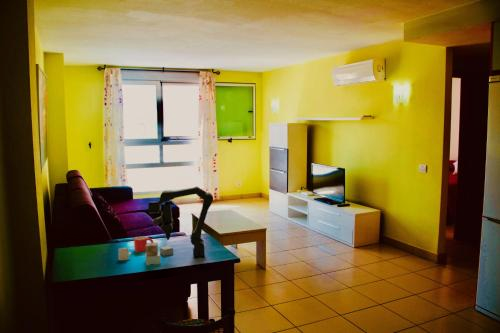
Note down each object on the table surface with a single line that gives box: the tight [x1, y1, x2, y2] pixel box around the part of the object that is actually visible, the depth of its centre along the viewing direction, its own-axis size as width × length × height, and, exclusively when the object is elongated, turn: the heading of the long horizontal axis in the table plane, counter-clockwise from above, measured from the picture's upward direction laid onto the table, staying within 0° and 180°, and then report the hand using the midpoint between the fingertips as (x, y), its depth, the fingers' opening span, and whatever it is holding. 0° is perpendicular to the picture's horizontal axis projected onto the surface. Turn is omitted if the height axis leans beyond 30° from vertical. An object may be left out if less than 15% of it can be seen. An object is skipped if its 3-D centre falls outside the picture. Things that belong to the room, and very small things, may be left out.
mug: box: [133, 236, 154, 253], centre depth 250 cm, size 8×12×8 cm, turn 107°
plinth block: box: [145, 251, 161, 266], centre depth 227 cm, size 8×8×5 cm
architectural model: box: [118, 247, 132, 261], centre depth 233 cm, size 3×7×7 cm, turn 105°
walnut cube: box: [145, 242, 159, 257], centre depth 226 cm, size 6×6×6 cm
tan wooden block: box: [159, 245, 174, 257], centre depth 242 cm, size 6×6×4 cm
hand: (168, 237), depth 232 cm, fingers open, 9 cm apart
